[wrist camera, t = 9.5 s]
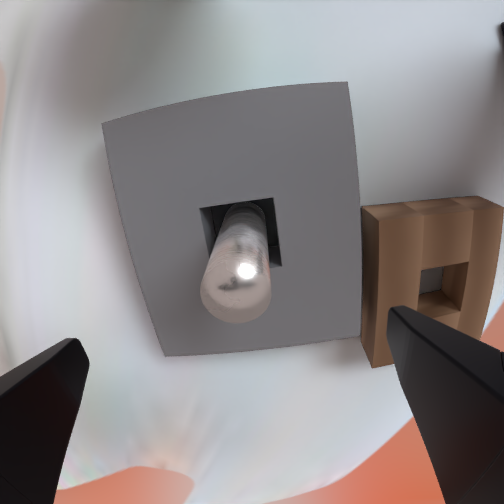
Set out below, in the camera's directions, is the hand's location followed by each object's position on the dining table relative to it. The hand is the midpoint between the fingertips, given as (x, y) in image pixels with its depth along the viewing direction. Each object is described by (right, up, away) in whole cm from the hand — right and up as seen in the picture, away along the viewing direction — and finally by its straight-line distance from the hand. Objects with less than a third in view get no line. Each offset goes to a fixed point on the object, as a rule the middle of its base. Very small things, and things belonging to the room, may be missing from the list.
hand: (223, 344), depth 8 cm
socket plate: (0, +4, +10) cm, 11 cm away
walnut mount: (+12, +1, +11) cm, 17 cm away
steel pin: (0, +4, +10) cm, 11 cm away
